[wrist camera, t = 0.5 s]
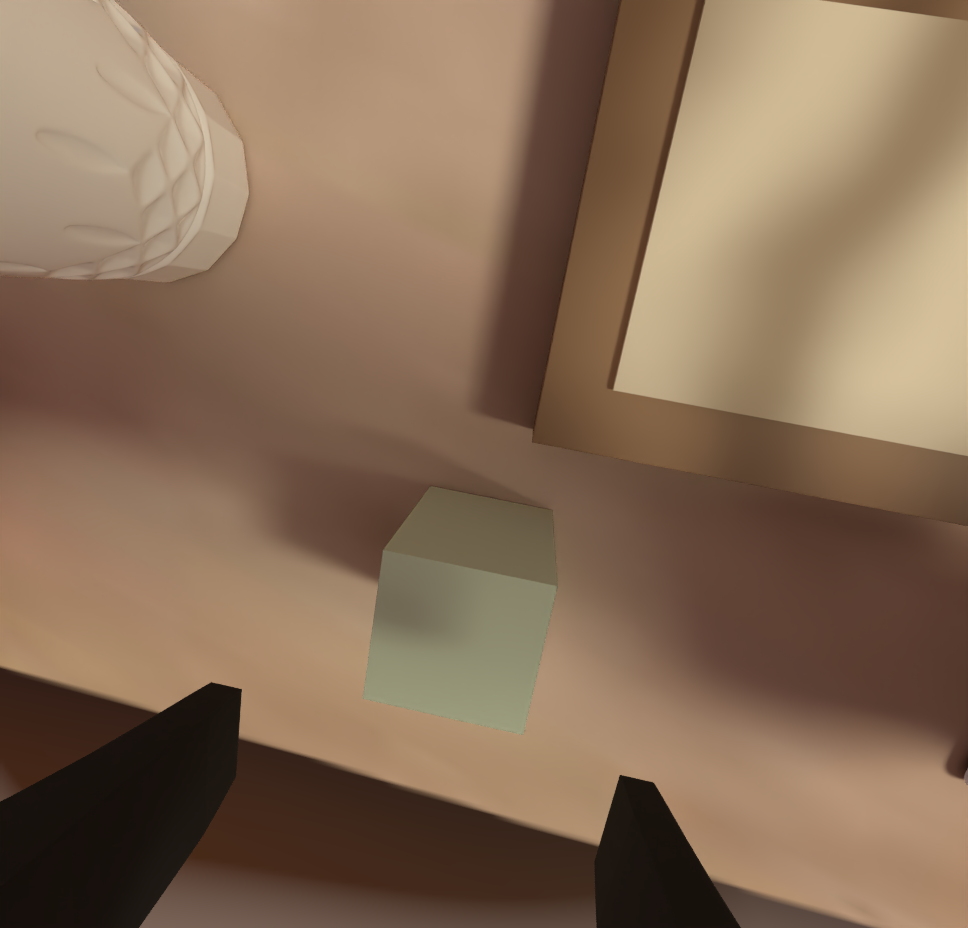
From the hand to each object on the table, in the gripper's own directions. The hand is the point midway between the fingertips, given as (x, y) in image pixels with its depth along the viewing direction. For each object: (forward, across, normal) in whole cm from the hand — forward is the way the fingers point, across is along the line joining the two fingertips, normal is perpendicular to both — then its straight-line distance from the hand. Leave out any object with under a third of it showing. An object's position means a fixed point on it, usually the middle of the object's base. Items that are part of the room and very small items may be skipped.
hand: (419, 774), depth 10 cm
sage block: (+10, 0, 0) cm, 10 cm away
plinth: (+10, -8, -12) cm, 18 cm away
